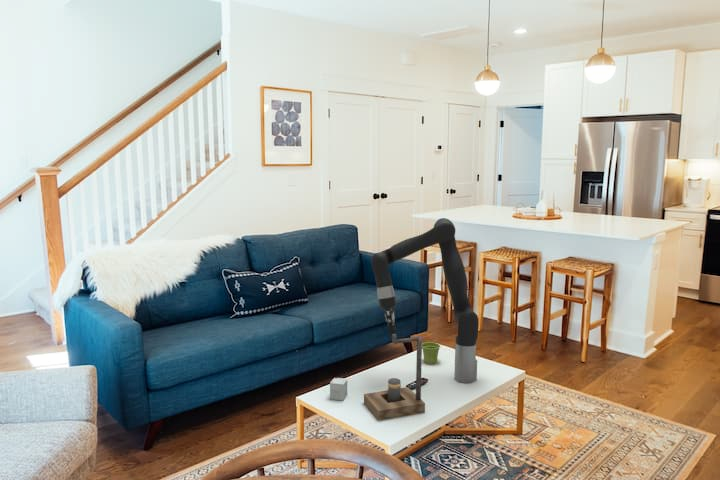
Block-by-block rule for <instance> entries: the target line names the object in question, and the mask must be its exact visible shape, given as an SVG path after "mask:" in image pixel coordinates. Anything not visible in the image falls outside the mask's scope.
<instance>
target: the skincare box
mask: <svg viewBox="0 0 720 480" xmlns="http://www.w3.org/2000/svg"><path fill="white" fill-rule="evenodd" d="M347 397H348V378H343V377H334V378H333V379H332V380H331V381H330V382H329V399H330V400H335V401H344V400H345V399H346V398H347Z"/></svg>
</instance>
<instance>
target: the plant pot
mask: <svg viewBox="0 0 720 480" xmlns="http://www.w3.org/2000/svg"><path fill="white" fill-rule="evenodd" d="M440 348H441V344H440V343H437V342H430V341H429V342H422V356H423V361H424V363H425V364H427V365H434V364H437V362H438V355H439V351H440Z"/></svg>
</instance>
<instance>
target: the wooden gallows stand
mask: <svg viewBox="0 0 720 480" xmlns="http://www.w3.org/2000/svg"><path fill="white" fill-rule="evenodd" d="M391 341H392V343H393V344H394V345H396V344H397V345H398V344H404V343H405V344H407V343H412V342H414V343H415V342H416V367H415V368H416V369H415V370H416V373H415V376H416V377H415V392H414V391H413V390H412V389H410V387H409V386H407V387H406V386H404V387H400V401H397V402H391V403H388V389H386V390H381V391H374V392H368V393H364V394H363V404H364V405H365V406H366V407H367V409H368V410H369V411H370V412H371V414H372V415H373V416H374V418H376V420H378V421H379V422H380V421H382V420H383V421H384V420H390V419H394V418H401V417H406V416H407V417H408V416H411V415H412V416H413V415H417V414H423V413H424V414H425V411H426V402H425V401H424V400H423V399H422V362H423V359H422V357H423V349H422V344H423V337H422V336H414V337H406V338H398V339H397V334H396V333H395V334H391Z"/></svg>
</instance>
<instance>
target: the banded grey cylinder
mask: <svg viewBox="0 0 720 480" xmlns="http://www.w3.org/2000/svg"><path fill="white" fill-rule="evenodd" d="M401 383H402V382H401V379H399V378H396V377H394V378H393V377H392V378H391V377H390V378H389V379H388V380H387V390H388V403H391V402H397V401H400V388H402V386H401V385H402V384H401Z"/></svg>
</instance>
